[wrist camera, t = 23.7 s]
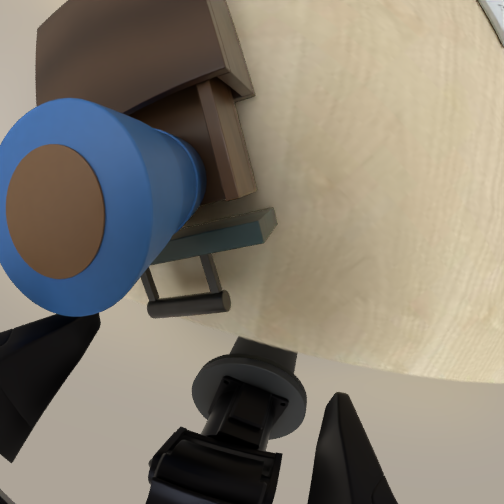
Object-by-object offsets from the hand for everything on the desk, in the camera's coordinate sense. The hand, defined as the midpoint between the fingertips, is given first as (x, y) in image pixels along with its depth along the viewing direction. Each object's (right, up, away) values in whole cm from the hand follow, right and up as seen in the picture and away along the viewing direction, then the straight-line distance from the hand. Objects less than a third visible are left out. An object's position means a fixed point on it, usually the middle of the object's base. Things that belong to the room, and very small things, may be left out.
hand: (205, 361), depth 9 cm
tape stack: (-5, +8, +9) cm, 13 cm away
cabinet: (-7, +19, +9) cm, 23 cm away
